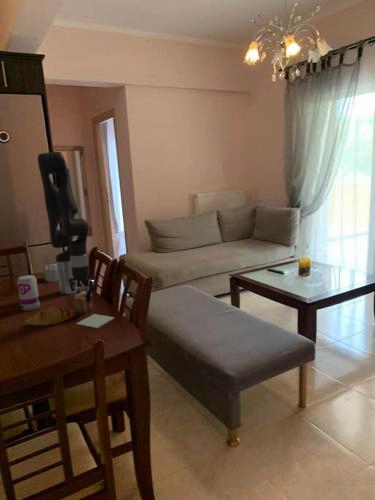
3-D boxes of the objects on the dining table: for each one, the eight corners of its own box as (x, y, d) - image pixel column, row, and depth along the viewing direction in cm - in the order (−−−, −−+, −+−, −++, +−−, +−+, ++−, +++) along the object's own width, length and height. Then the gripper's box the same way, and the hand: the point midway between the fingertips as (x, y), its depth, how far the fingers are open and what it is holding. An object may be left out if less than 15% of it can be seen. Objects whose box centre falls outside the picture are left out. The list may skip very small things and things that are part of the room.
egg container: (63, 275, 231) (61, 261, 229) (63, 280, 219) (62, 266, 217) (45, 277, 228) (43, 263, 226) (45, 282, 216) (43, 268, 214)
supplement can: (33, 311, 170) (29, 279, 167) (17, 310, 172) (12, 279, 169) (43, 304, 178) (39, 274, 175) (28, 304, 180) (23, 274, 177)
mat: (94, 314, 162) (94, 314, 162) (114, 318, 157) (114, 317, 157) (76, 324, 153) (76, 323, 153) (97, 328, 148) (97, 327, 148)
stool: (84, 308, 171) (82, 291, 169) (93, 309, 169) (91, 292, 167) (76, 312, 167) (74, 295, 165) (85, 313, 164) (83, 296, 163)
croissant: (27, 336, 152) (24, 323, 147) (25, 318, 159) (22, 305, 154) (80, 325, 160) (79, 312, 155) (76, 308, 167) (75, 295, 162)
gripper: (98, 263, 163) (102, 300, 167) (73, 261, 170) (77, 296, 173) (86, 267, 157) (90, 305, 160) (61, 265, 163) (65, 302, 167)
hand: (83, 300), depth 167 cm, fingers closed on stool, 5 cm apart
